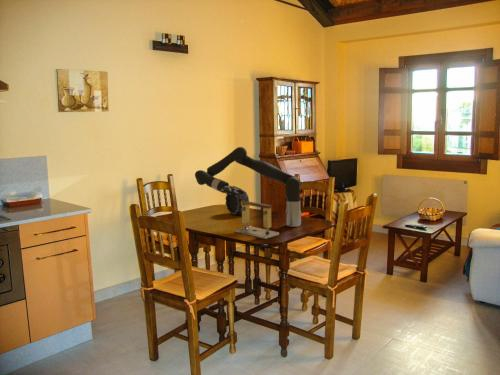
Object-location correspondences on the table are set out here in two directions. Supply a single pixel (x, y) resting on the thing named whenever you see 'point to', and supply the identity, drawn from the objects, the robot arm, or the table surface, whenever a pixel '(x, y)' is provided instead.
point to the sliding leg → (245, 214)
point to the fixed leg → (267, 219)
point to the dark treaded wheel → (236, 202)
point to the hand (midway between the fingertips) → (239, 193)
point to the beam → (256, 204)
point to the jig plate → (257, 232)
